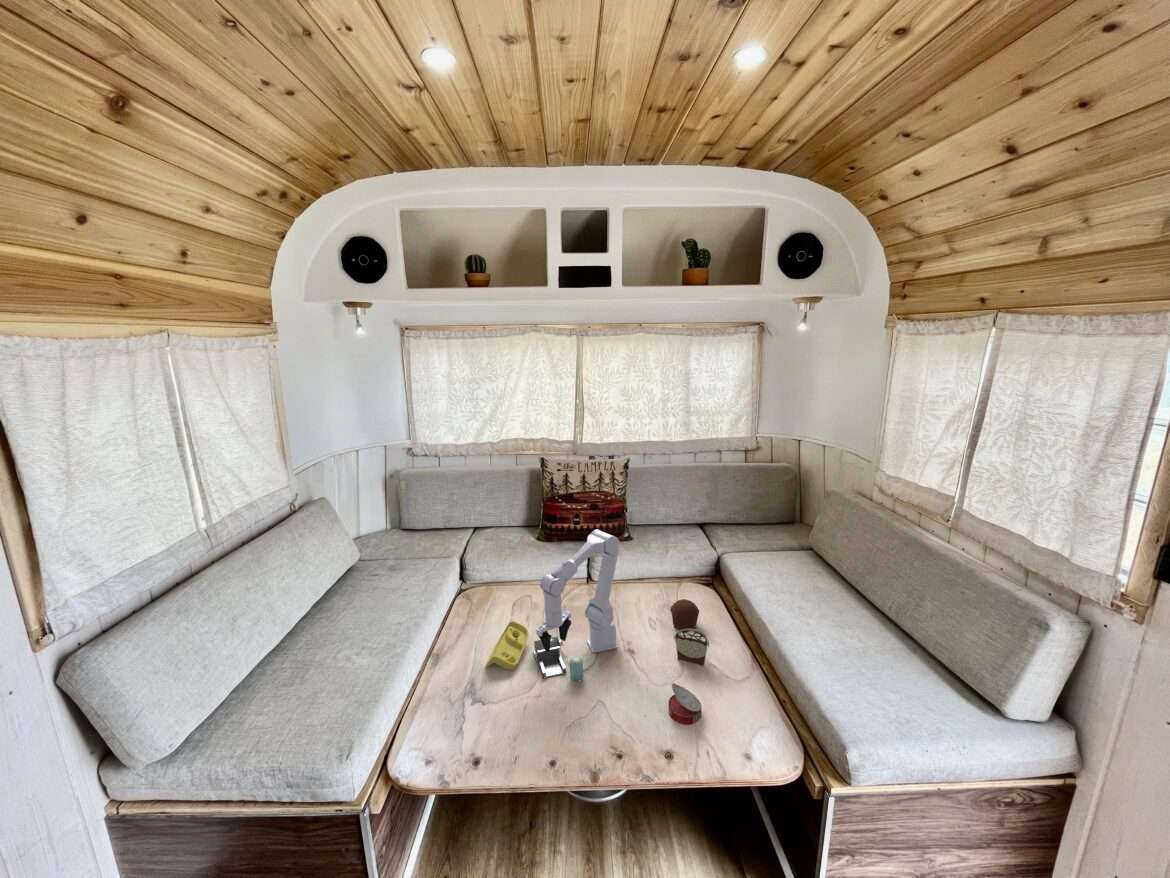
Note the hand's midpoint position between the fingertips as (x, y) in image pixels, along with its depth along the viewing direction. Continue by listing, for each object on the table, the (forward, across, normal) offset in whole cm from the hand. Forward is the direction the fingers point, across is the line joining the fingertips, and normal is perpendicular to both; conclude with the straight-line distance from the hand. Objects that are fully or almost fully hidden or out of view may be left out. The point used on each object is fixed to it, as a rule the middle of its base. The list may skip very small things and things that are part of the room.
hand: (555, 644), depth 167 cm
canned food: (+10, -12, +44) cm, 47 cm away
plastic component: (+10, +5, -20) cm, 23 cm away
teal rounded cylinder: (+10, -2, +8) cm, 13 cm away
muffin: (+10, -52, +20) cm, 57 cm away
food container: (+10, -36, +33) cm, 50 cm away
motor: (+10, -2, -4) cm, 11 cm away
